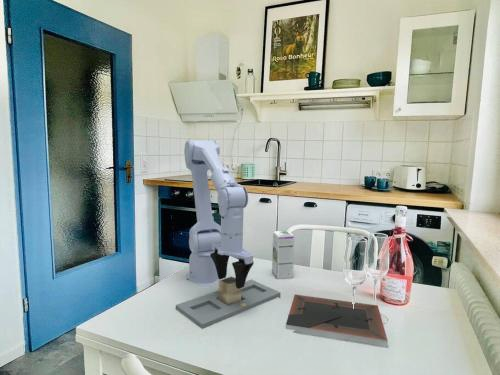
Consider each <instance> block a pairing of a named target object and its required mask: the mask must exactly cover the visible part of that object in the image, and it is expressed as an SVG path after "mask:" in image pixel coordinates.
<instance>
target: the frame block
mask: <svg viewBox="0 0 500 375" xmlns="http://www.w3.org/2000/svg"><path fill="white" fill-rule="evenodd" d="M218 291H219V294H218V300H220V301H221V302H223V303H225V304H226V305H228V306H229V305H231V304H234V303H237V302H239V301H241V288H240V289H237V288H236V279H235V277H234V276H233V275H232V276H229V277H226V278H223V279H222V280H219V282H218Z"/></svg>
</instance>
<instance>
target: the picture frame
mask: <svg viewBox="0 0 500 375" xmlns="http://www.w3.org/2000/svg"><path fill="white" fill-rule="evenodd" d="M352 302H353V301H346V300H339V299H333V298H326V297H325V298H324V297H317V296H310V295H303V294H302V295H301V294H294V295H293V300H292V302H291V306H290V309H289V313H288V316H287V319H286V322H285V329H287V330H292V331H293V333H296V334H299V335H301V334H302V335H307V336H314V337H319V338H320V337H321V338H326V339H332V340H338V341H345V342H350V343H357V344H363V345H369V346H375V347H381V348H386V349H387V348H388V341H389V340H388V338H387V334H386V330H385V326H384V323H383V319H382V316H381V312H380V309H379V306H378V305H377V304H367V303H363V302H355V301H354V302H355V304H354V309H353V304H352Z"/></svg>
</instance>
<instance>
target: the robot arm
mask: <svg viewBox="0 0 500 375" xmlns="http://www.w3.org/2000/svg"><path fill="white" fill-rule="evenodd" d="M220 149H221V148H220V145H219V142H218V141H217V140H216V139H215V140H203V139H201V140H199V139H190V138H189V139H187V140H186V141H185V144H184V150H183V152H184V162H185V163H184V164H185V168H187V169H188V170H189V171H191V172H190V173H191V177H192V185H193V186H192V188H193V195H194V206H195V212H196V221H197V222H196V223H195V224H194V225H193V226H191V228H190V229H189V232H188V233H189V235H188V236H189V237H188V245H189V250H190V251H191V253H190V255H189V258H188V259H189V260H188V262H189V263H188V276H186V279H187V280H190V281H193V282H194V283H195V284H198V285H199V286H201V287H206V286H209V285H213V284H215V283H219V280H222V279H225V278H227V273H228V265H229V258H230V257H231V258H233V259H235V260H238V261H233V262H232V263H231V266H232V267H233V271H234V276H235V277H234V278H235V279H236V288H237V289H240V288H242V287H244V285H245V281H247V277H248V274H249V273H250V271H251V269H252V267H253V265H254V263H255V262H254V255H253V254H251V253H249V252H248V251H247V250H246V249H244V248H243V241H244V240H243V238H244V209H245V208H246V207H247V205H248V203H249V193H248V190H247V187H246V186H244V185H241V184H239V183H237V180H236V179H235V177H234V175H233V174H232V172H231V170H230V169H229V168H227V167H225V166H224V165H223V162H222V161H221V158H220V153H221V150H220ZM208 171H210V173H211V175H210V181H211V183H212V184H213V186H214V188H215V191H216V192H217V196H216V197H217V204H218V209H219V210H218V211H219V212H218V213H219V215H220V216H221V217H220V224H218V223H217V222H216V221H214V216H213V210H212V202H211V194H210V187H209V186H210V185H209V177H208Z"/></svg>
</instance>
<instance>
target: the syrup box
mask: <svg viewBox="0 0 500 375" xmlns="http://www.w3.org/2000/svg"><path fill="white" fill-rule="evenodd" d="M294 253H295V235H294V233H292V232H291V231H290V230H277V231H276V230H275V231H273V232H272V264H271V265H272V266H271V267H272V268H271V270H272V272H271V273H272V274H273V275H274V277H275V278H276V279H277V280H279V279H281V280H284V279H292V278H294V264H295V263H294V258H295V257H294V256H295V254H294Z"/></svg>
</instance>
